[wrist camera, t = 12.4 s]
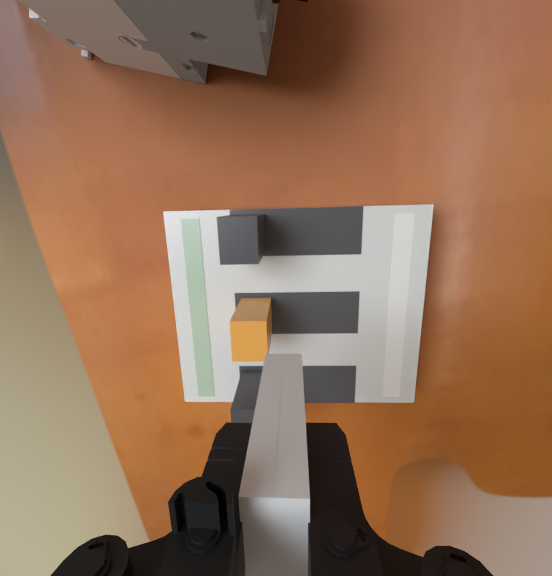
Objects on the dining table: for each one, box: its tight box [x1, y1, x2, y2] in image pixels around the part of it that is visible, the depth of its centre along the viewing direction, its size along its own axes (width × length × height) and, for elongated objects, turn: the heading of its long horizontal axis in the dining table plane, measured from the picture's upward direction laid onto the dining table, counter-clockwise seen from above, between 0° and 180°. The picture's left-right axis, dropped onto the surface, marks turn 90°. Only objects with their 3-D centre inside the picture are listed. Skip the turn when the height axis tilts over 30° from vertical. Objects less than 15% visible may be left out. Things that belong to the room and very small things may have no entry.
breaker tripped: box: [229, 298, 272, 362], centre depth 19 cm, size 2×2×4 cm
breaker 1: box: [217, 214, 265, 265], centre depth 18 cm, size 2×2×4 cm
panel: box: [163, 204, 434, 403], centre depth 23 cm, size 17×14×3 cm
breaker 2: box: [231, 371, 262, 423], centre depth 21 cm, size 2×2×4 cm
